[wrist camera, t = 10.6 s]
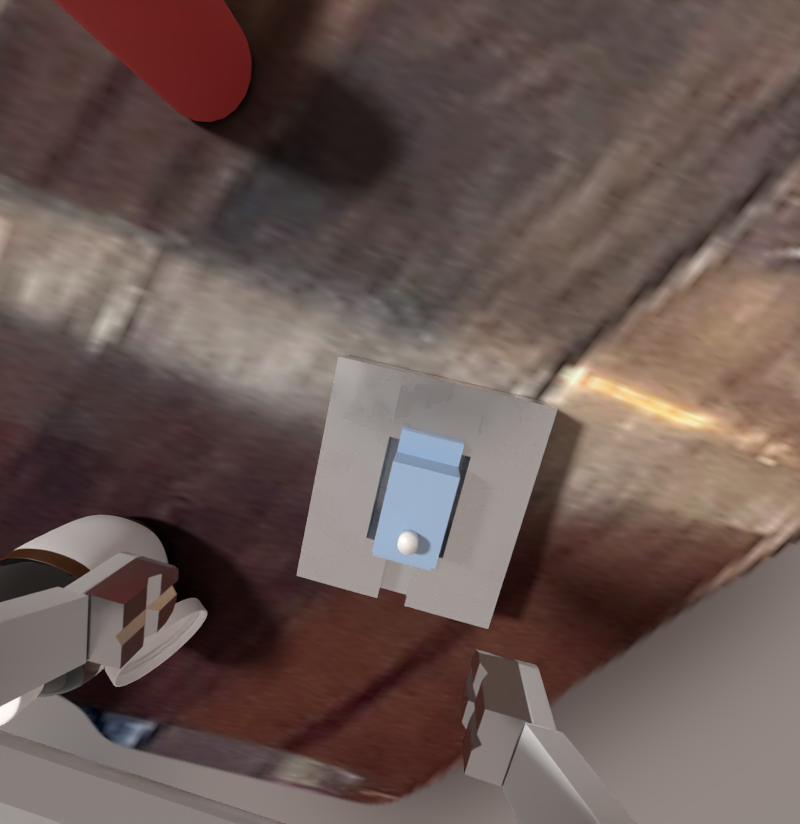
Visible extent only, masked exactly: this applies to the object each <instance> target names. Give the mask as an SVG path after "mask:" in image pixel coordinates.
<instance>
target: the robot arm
mask: <svg viewBox="0 0 800 824" xmlns="http://www.w3.org/2000/svg"><path fill="white" fill-rule="evenodd" d="M178 571H179V569H178V568H177V567H176V566H173V565H170V564H167V563H164V562H160V561H157V560H154V559H151V558H147V557H144V556H139V555H136V554H133V553H130V552H126V551H125V552H120V553H118V554H116V555H115V556H113V557H111V558H110V559H108V560H107V561H105V562H104V563H102V564H101V565H99V566H97V567H96V568H94V569H93V570H91V571H90V572H88V573H86V574H85V575H83V576H82V577H80V578H79V579H77V580H76V581H74V582H72V583H71V584H69V585H68V586H66V587H65V588H61V587H55V588H51V589H47V590H44V591H40V592H36V593H33V594H29V595H25V596H22V597H18V598H14V599H11V600H7V601H3V602H0V706H2V705H4V704H6V703H8V702H10V701H12V700H14V699H16V698H18V697H20V696H22V695H24V694H26V693H28V692H30V691H32V690H34V689H36V688H38V687H40V686H42V685H44V684H45V683H47V682H49V681H51V680H53V679H55V678H57V677H59V676H61V675H63V674H65V673H67V672H69V671H71V670H73V669H75V668H77V667H79V666H81V665H83V664H85V663H86V661H90V662H94V663H98V664H102V665H105V666H109V667H113V668H117V669H121V668H122V667H123V666H124V665H125V664H126V663H127V662H128V661H129V660H130V659H131V658H132V657H133V656H134V655H135V654H136V653H137V652H138V651H139V650H140V649H141V648H142V647H143V643H144V638H145V637H148V636H150V635H152V634H155V633H157V632H158V631H159V630H160V629H161V628H162V627H163V626H164V625H165V624H166V622H167V620H168V619H169V617H170V615H171V614H172V612H173V610H174V607H175V604H176V597H177V594H176V592H175V590H174V588H173V586H172V585H173V584H174V583H175V582H176V581H177V580H178ZM471 667H472V673H471V674H470V675H468V676H467V678H466V681H465V685H464V690H463V696H462V723H463V725H464V726H465V728H466V733H465V736H464V739H463V758H464V774H465V775H468V776H471V777H474V778H477V779H480V780H483V781H486V782H489V783H492V784H494V785H497V786H501V787H503V788H502V790H503V793H504V795H505V797H506V798H507V801H508V803H509V805H510V807H511V809H512V811H513V813H514V815H515V817H516V819H517V821H518V823H519V824H636V822H635V821H634V820H633V819H632V817H631V816H630V815H629V814H628V813H627V811H626V810H625V809H624V808H623V806H622V805H621V804H620V803H619V801H618V800H617V799H616V798H615V796H614V795H613V794H612V793H611V791H610V790H609V789H608V788H607V787H606V785H605V784H604V783H603V782H602V780H601V779H600V778H599V777H598V775H597V774H596V773H595V772H594V770H593V769H592V768H591V767H590V765H589V764H588V763H587V762H586V761H585V759H584V758H583V757H582V756H581V754H580V753H579V752H578V751H577V749H576V748H575V747H574V746H573V744H572V743H571V742H570V741H569V740H568V738H567V737H566V736H565V735H564V734H563V733H561V732H558V731H557V730H556V726H555V723H554V720H553V716H552V713H551V709H550V706H549V703H548V699H547V696H546V692H545V689H544V686H543V682H542V679H541V675H540V672H539V669H538V667H537V666H536V665H534V664H530V663H526V662H523V661H519V660H513V659H510V658H506V657H502V656H499V655H495V654H491V653H487V652H484V651H480V650H476V651H475V652H474V655H473V658H472V661H471ZM0 824H284V823H281V822H278V821H275V820H272V819H269V818H266V817H263V816H260V815H256V814H254V813H251V812H247V811H245V810H241V809H239V808H236V807H232V806H229V805H226V804H223V803H220V802H217V801H214V800H211V799H208V798H205V797H202V796H199V795H196V794H193V793H190V792H187V791H184V790H181V789H178V788H175V787H172V786H169V785H166V784H163V783H159V782H156V781H153V780H150V779H147V778H144V777H141V776H138V775H135V774H132V773H129V772H126V771H123V770H120V769H117V768H114V767H111V766H108V765H104V764H102V763H99V762H95V761H92V760H89V759H86V758H83V757H80V756H77V755H74V754H71V753H68V752H65V751H62V750H58V749H56V748H53V747H50V746H46V745H44V744H40V743H37V742H34V741H31V740H28V739H25V738H22V737H19V736H16V735H13V734H10V733H7V732H4V731H1V730H0Z"/></svg>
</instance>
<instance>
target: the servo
mask: <svg viewBox="0 0 800 824" xmlns="http://www.w3.org/2000/svg"><path fill="white" fill-rule="evenodd" d="M463 448H464V442H461V441H457V440H453V439H449V438H445V437H441V436H436V435H432V434H428V433H424V432H420V431H416V430H412V429H408V428H404V427H403V428H402V432H401V436H400V440H399V445H398V449H397V452H396V455H395V457H394V460H393V463H392V467H391V472H390V476H389V480H388V484H387V489H386V493H385V497H384V502H383V506H382V510H381V514H380V519H379V523H378V527H377V532H376V536H375V540H374V544H373V549H372V552H373V556H377V557H380V558H384V559H388V560H392V561H395V562H399V563H403V564H406V565H410V566H414V567H417V568H421V569H425V570H428V571H430V570H431V568H433V569H435V568H436V564H437V561H438V557H439V553H440V550H441V546H442V542H443V539H444V535H445V531H446V528H447V524H448V520H449V517H450V513H451V509H452V506H453V502H454V498H455V495H456V491H457V487H458V484H459V480H460V474H459V468H458V467H459V463H460V459H461V455H462V452H463Z"/></svg>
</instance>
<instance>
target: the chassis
mask: <svg viewBox="0 0 800 824" xmlns="http://www.w3.org/2000/svg"><path fill="white" fill-rule="evenodd" d="M557 410H558V408H556V407H554V406H552V405H550V404H548V403H546V402H544V401H541V400H537V399H533V398H529V397H524V396H520V395H516V394H512V393H507V392H503V391H499V390H495V389H491V388H486V387H482V386H478V385H474V384H469V383H465V382H461V381H457V380H453V379H448V378H444V377H440V376H436V375H431V374H427V373H423V372H419V371H414V370H410V369H406V368H402V367H398V366H393V365H389V364H385V363H381V362H376V361H372V360H368V359H364V358H360V357H355V356H351V355H349V356H339V357H338V362H337V367H336V372H335V378H334V383H333V388H332V393H331V398H330V404H329V409H328V414H327V419H326V425H325V430H324V435H323V440H322V445H321V451H320V456H319V461H318V466H317V471H316V477H315V482H314V487H313V492H312V497H311V503H310V508H309V513H308V518H307V523H306V529H305V534H304V539H303V544H302V549H301V555H300V560H299V565H298V570H297V575H296V576H300V577H303V578H307V579H310V580H314V581H318V582H321V583H325V584H328V585H332V586H335V587H339V588H343V589H346V590H350V591H353V592H357V593H361V594H364V595H368V596H371V597H375V598H377V596H378V592H379V588H384V589H388V590H391V591H395V592H399V593H402V594H406V598H405V605H404V606H407V607H411V608H414V609H418V610H422V611H425V612H429V613H432V614H436V615H440V616H443V617H447V618H450V619H454V620H457V621H461V622H465V623H468V624H472V625H475V626H479V627H483V628H486V629H488V628H489V625H490V622H491V618H492V615H493V612H494V609H495V606H496V603H497V600H498V596H499V593H500V590H501V587H502V584H503V581H504V577H505V574H506V571H507V568H508V565H509V562H510V558H511V555H512V552H513V549H514V546H515V543H516V540H517V536H518V533H519V530H520V527H521V524H522V521H523V517H524V514H525V511H526V508H527V505H528V502H529V499H530V495H531V492H532V489H533V486H534V483H535V480H536V476H537V473H538V470H539V467H540V464H541V461H542V458H543V454H544V451H545V448H546V445H547V442H548V439H549V435H550V432H551V429H552V426H553V423H554V420H555V416H556V413H557ZM403 427H404V428H408V429H412V430H416V431H420V432H424V433H428V434H432V435H436V436H441V437H445V438H449V439H453V440H457V441H461V442H464V448H463V452H462V455H461V459H460V463H459V467H458V468H459V474H460V480H459V484H458V487H457V491H456V495H455V498H454V502H453V506H452V509H451V513H450V517H449V520H448V524H447V528H446V531H445V535H444V539H443V542H442V546H441V550H440V553H439V557H438V561H437V564H436V568H435V569H433V568H431V570H430V571H428V570H425V569H421V568H417V567H414V566H410V565H406V564H403V563H399V562H395V561H392V560H388V559H384V558H380V557H377V556H373V552H372V549H373V544H374V540H375V536H376V532H377V527H378V523H379V519H380V514H381V510H382V506H383V502H384V497H385V493H386V489H387V484H388V480H389V476H390V472H391V467H392V463H393V460H394V457H395V455H396V452H397V449H398V445H399V440H400V436H401V432H402V428H403Z"/></svg>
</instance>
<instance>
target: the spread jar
mask: <svg viewBox="0 0 800 824" xmlns="http://www.w3.org/2000/svg"><path fill="white" fill-rule="evenodd" d="M125 551H126V552H130V553H133V554H136V555H139V556H144V557H147V558H151V559H154V560H157V561H160V562H164V563H167V564H170V565H173V566H174V562H173V556H172V552H171V550H170V547H169V545H168V543H167V542H166V540H165V539H164V538H163V536H162V535H161V534H160V533H159V532H158V531H156V530H155V529H154V528H152V527H151V526H149V525H147V524H145V523H143V522H141V521H138V520H136V519H132V518H128V517H124V516H117V515H93V516H88V517H84V518H81V519H78V520H75V521H72V522H70V523H68V524H65V525H63V526H61V527H59V528H56V529H54V530H52V531H50V532H48V533H46V534H44V535H42V536H40V537H37V538H35V539H33V540H31V541H29V542H28V543H26V544H24V545H22V546H20V547H19V548H17V549H15V550H14V551H12V552H10V553H9V554H8V555H6V556H5V557H4V558H2V559H1V560H0V602H3V601H7V600H11V599H14V598H18V597H22V596H25V595H29V594H33V593H36V592H40V591H44V590H47V589H51V588H55V587H61V588H65V587H66V586H68V585H69V584H71V583H72V582H74V581H76V580H77V579H79V578H80V577H82V576H83V575H85V574H86V573H88V572H90V571H91V570H93V569H94V568H96V567H97V566H99V565H101V564H102V563H104V562H105V561H107V560H108V559H110V558H111V557H113V556H115V555H116V554H118V553H120V552H125ZM206 617H207V610H206V609H205V608H204V606H203V605H202V604H201V602H200V601H199V600H198V599H197V598H188V599H185V600H182V601H180V602H178V603H176V604H175V607H174V610H173V612H172V614H171V615H170V617H169V619H168V620H167V622H166V624H165V625H164V626H163V627H162V628H161V629H160V630H159V631H158V632H157V633H155V634H152V635H150V636H148V637H145V638H144V643H143V647H142V648H141V649H140V650H139V651H138V652H137V653H136V654H135V655H134V656H133V657H132V658H131V659H130V660H129V661H128V662H127V663H126V664H125V665H124V666H123V667H122V668H121V669H117V668H113V667H109V666H105V665H102V664H98V663H94V662H90V661H86V663H85V664H83V665H81V666H79V667H77V668H75V669H73V670H71V671H69V672H67V673H65V674H63V675H61V676H59V677H57V678H55V679H53V680H51V681H49V682H47V683H45V684H44V685H42V686H40V687H38V688H36V689H34V690H32V691H30V692H28V693H26V694H24V695H22V696H20V697H18V698H16V699H14V700H12V701H10V702H8V703H6V704H4V705H2V706H0V726H1V725H3V724H6V723H7V722H8V721H10V720H11V719H12V718H13V717H14V716H16V715H17V714H18V713H19V712H20V711H21V710H22V709H24V708H25V707H26V706H27V705H28V704H29V703H30V702H32V701H33V700H34V699H35V698H36V697H46V696H53V695H58V694H63V693H66V692H69V691H71V690H74V689H76V688H78V687H80V686H82V685H83V684H85V683H86V682H88V681H89V680H91V679H92V678H93V677H94V676H96V675H97V674H98V673H99V672H101V671H102V670H103V669H104V668H105V671H106V673H107V675H108V676H109V678H110V680H111V681H112V683H113V685H114V686H116V687H121V686H124V685H127V684H129V683H132V682H134V681H135V680H137V679H139V678H141V677H142V676H144V675H146V674H147V673H149V672H150V671H152V670H153V669H154V668H156V667H157V666H159V665H160V664H161V663H163V662H164V661H165V660H167V659H168V658H169V657H170V656H171V655H173V654H174V653H175V652H176V651H177V650H178V649H180V648H181V647H182V646H183V645H184V644H185V643H186V642H187V641H188V640H189V639H190V638H191V637H192V636H193V635H194V634H195V633H196V632H197V630H198V629H199V628H200V627H201V625H202V624H203V623H204V621H205V619H206Z"/></svg>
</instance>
